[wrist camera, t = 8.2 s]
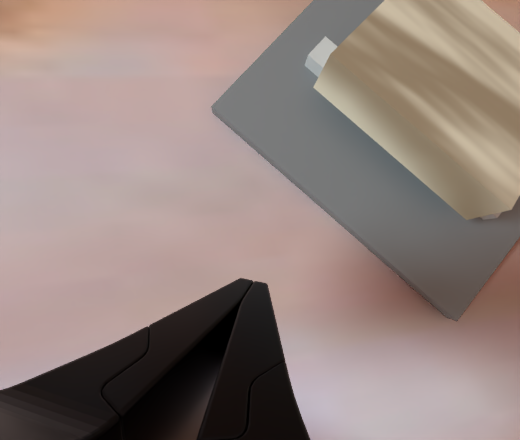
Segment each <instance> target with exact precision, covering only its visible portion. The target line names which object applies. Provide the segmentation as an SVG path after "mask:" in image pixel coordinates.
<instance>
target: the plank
mask: <svg viewBox="0 0 520 440" xmlns="http://www.w3.org/2000/svg"><path fill="white" fill-rule="evenodd" d="M313 88H314V89H316V90H317V91H318V92H319V93H320V94H321V95H322V96H324V97H325V98H326V99H327V100H328V101H329V102H331V103H332V104H333V105H334V106H335V107H336V108H337V109H339V110H340V111H341V112H342V113H343V114H344V115H346V116H347V117H348V118H349V119H350V120H351V121H353V122H354V123H355V124H356V125H357V126H358V127H359V128H361V129H362V130H363V131H364V132H365V133H366V134H368V135H369V136H370V137H371V138H372V139H373V140H374V141H376V142H377V143H378V144H379V145H380V146H381V147H383V148H384V149H385V150H386V151H387V152H388V153H389V154H391V155H392V156H393V157H394V158H395V159H396V160H398V161H399V162H400V163H401V164H402V165H403V166H405V167H406V168H407V169H408V170H409V171H410V172H411V173H413V174H414V175H415V176H416V177H417V178H418V179H420V180H421V181H422V182H423V183H424V184H425V185H426V186H428V187H429V188H430V189H431V190H432V191H433V192H435V193H436V194H437V195H438V196H439V197H440V198H441V199H443V200H444V201H445V202H446V203H447V204H448V205H450V206H451V207H452V208H453V209H454V210H455V211H457V212H458V213H459V214H460V215H461V216H462V217H463V218H465V219H466V220H469V219H473V218H478V217H482V216H487V215H491V214H495V213H500V212H504V211H508V210H512V208H513V206H514V204H515V203H516V201H517V199H518V197H519V196H520V33H519V32H518V31H517V30H516V29H515V28H513V27H512V26H511V25H510V24H509V23H507V22H506V21H505V20H504V19H503V18H502V17H500V16H499V15H498V14H497V13H496V12H494V11H493V10H492V9H491V8H490V7H489V6H487V5H486V4H485V3H484V2H483V1H481V0H384V1H383V2H382V3H381V4H380V5H379V6H378V7H377V8H376V9H375V10H374V11H373V12H372V13H371V14H370V15H369V16H368V17H367V18H366V19H365V20H364V21H363V22H362V23H361V24H360V25H359V26H358V27H357V28H356V29H355V30H354V31H353V32H352V33H351V34H350V35H349V36H348V37H347V38H346V39H345V40H344V41H343V42H342V43H341V44H340V45H339V46H338V47H337V48H336V49H335V50H334V51H333V52H332V53H331V54H330V56H329V58H328V60H327V62H326V63H325V65H324V67H323V69H322V71H321V73H320V75H319V77H318V79H317V81H316V83H315V85H314V87H313Z"/></svg>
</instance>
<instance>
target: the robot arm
mask: <svg viewBox="0 0 520 440" xmlns="http://www.w3.org/2000/svg"><path fill="white" fill-rule="evenodd" d="M0 440H310V438H309V435H308V432H307V430H306V427H305V425H304V422H303V419H302V417H301V414H300V411H299V408H298V405H297V402H296V399H295V397H294V393H293V389H292V386H291V382H290V378H289V374H288V370H287V366H286V363H285V358H284V354H283V349H282V345H281V341H280V336H279V332H278V328H277V323H276V319H275V315H274V310H273V306H272V302H271V297H270V293H269V289H268V285H267V284H266V283H262V282H258V281H255V282H253V281H252V280H248V279H243V278H240V279H238V280H236V281H234V282H232V283H230V284H228V285H226V286H224V287H222V288H220V289H218V290H217V291H215V292H213V293H211V294H209V295H207V296H205V297H203V298H201V299H199V300H197V301H195V302H193V303H191V304H190V305H188V306H186V307H184V308H182V309H180V310H178V311H176V312H174V313H172V314H170V315H168V316H166V317H164V318H162V319H161V320H159V321H157V322H155V323H153V324H151V325H150V326H149V327H145V328H143V329H141V330H139V331H137V332H135V333H133V334H131V335H129V336H127V337H125V338H123V339H121V340H119V341H117V342H115V343H113V344H111V345H108V346H106V347H104V348H102V349H99V350H97V351H95V352H93V353H90V354H88V355H86V356H83V357H81V358H79V359H76V360H74V361H72V362H69V363H67V364H65V365H62V366H60V367H58V368H55V369H53V370H51V371H48V372H46V373H44V374H41V375H39V376H36V377H34V378H32V379H29V380H27V381H25V382H22V383H20V384H17V385H15V386H12V387H9V388H6V389H3V390H0Z"/></svg>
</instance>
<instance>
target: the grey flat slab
mask: <svg viewBox="0 0 520 440" xmlns="http://www.w3.org/2000/svg"><path fill="white" fill-rule="evenodd" d="M383 1H384V0H313V1H312V2H311V3H310V5H309V6H308V7H307V8H306V9H305V10H304V11H303V12H302V13H301V14H300V15H299V16H298V17H297V18H296V19H295V20H294V21H293V22H292V23H291V24H290V25H289V26H288V27H287V28H286V29H285V31H284V32H283V33H282V34H281V35H280V36H279V37H278V38H277V39H276V40H275V41H274V42H273V43H272V44H271V45H270V46H269V47H268V48H267V49H266V50H265V51H264V52H263V53H262V54H261V55H260V57H259V58H258V59H257V60H256V61H255V62H254V63H253V64H252V65H251V66H250V67H249V68H248V69H247V70H246V71H245V72H244V73H243V74H242V75H241V76H240V77H239V78H238V79H237V80H236V81H235V83H234V84H233V85H232V86H231V87H230V88H229V89H228V90H227V91H226V92H225V93H224V94H223V95H222V96H221V97H220V98H219V99H218V100H217V101H216V102H215V103H214V104H213V105H212V106H211V107H212V111H213V114H215V115H216V116H217V117H218V118H219V119H220V120H222V121H223V122H224V123H225V124H226V125H227V126H228V127H230V128H231V129H232V130H233V131H234V132H235V133H236V134H238V135H239V136H240V137H241V138H242V139H243V140H244V141H246V142H247V143H248V144H249V145H250V146H251V147H252V148H254V149H255V150H256V151H257V152H258V153H259V154H260V155H262V156H263V157H264V158H265V159H266V160H267V161H268V162H270V163H271V164H272V165H273V166H274V167H275V168H276V169H278V170H279V171H280V172H281V173H282V174H283V175H284V176H286V177H287V178H288V179H289V180H290V181H291V182H292V183H294V184H295V185H296V186H297V187H298V188H299V189H300V190H302V191H303V192H304V193H305V194H306V195H307V196H308V197H310V198H311V199H312V200H313V201H314V202H315V203H316V204H318V205H319V206H320V207H321V208H322V209H323V210H324V211H326V212H327V213H328V214H329V215H330V216H331V217H332V218H334V219H335V220H336V221H337V222H338V223H339V224H340V225H342V226H343V227H344V228H345V229H346V230H347V231H348V232H350V233H351V234H352V235H353V236H354V237H355V238H357V239H358V240H359V241H360V242H361V243H362V244H363V245H365V246H366V247H367V248H368V249H369V250H370V251H371V252H373V253H374V254H375V255H376V256H377V257H378V258H379V259H381V260H382V261H383V262H384V263H385V264H386V265H387V266H389V267H390V268H391V269H392V270H393V271H394V272H395V273H397V274H398V275H399V276H400V277H401V278H402V279H403V280H405V281H406V282H407V283H408V284H409V285H410V286H411V287H413V288H414V289H415V290H416V291H417V292H418V293H419V294H421V295H422V296H423V297H424V298H425V299H426V300H427V301H429V302H430V303H431V304H432V305H433V306H434V307H435V308H437V309H438V310H439V311H440V312H441V313H442V314H443V315H445V316H446V317H447V318H449V319H452V320H455V321H458V319H459V318H460V317H461V315H462V314H463V312H464V311H465V310H466V308H467V307H468V306H469V304H470V303H471V302H472V300H473V299H474V298H475V296H476V295H477V294H478V292H479V291H480V290H481V288H482V287H483V286H484V284H485V283H486V282H487V280H488V279H489V278H490V276H491V275H492V274H493V272H494V271H495V270H496V268H497V267H498V265H499V264H500V263H501V261H502V260H503V259H504V257H505V256H506V255H507V253H508V252H509V251H510V249H511V248H512V247H513V245H514V244H515V243H516V241H517V240H518V239H519V237H520V196H519V197H518V199H517V201H516V203H515V204H514V206H513V208H512V210H508V211H504V212H500V213H495V214H491V215H487V216H482V217H478V218H473V219H469V220H466V219H465V218H463V217H462V216H461V215H460V214H459V213H458V212H457V211H455V210H454V209H453V208H452V207H451V206H450V205H448V204H447V203H446V202H445V201H444V200H443V199H441V198H440V197H439V196H438V195H437V194H436V193H435V192H433V191H432V190H431V189H430V188H429V187H428V186H426V185H425V184H424V183H423V182H422V181H421V180H420V179H418V178H417V177H416V176H415V175H414V174H413V173H411V172H410V171H409V170H408V169H407V168H406V167H405V166H403V165H402V164H401V163H400V162H399V161H398V160H396V159H395V158H394V157H393V156H392V155H391V154H389V153H388V152H387V151H386V150H385V149H384V148H383V147H381V146H380V145H379V144H378V143H377V142H376V141H374V140H373V139H372V138H371V137H370V136H369V135H368V134H366V133H365V132H364V131H363V130H362V129H361V128H359V127H358V126H357V125H356V124H355V123H354V122H353V121H351V120H350V119H349V118H348V117H347V116H346V115H344V114H343V113H342V112H341V111H340V110H339V109H337V108H336V107H335V106H334V105H333V104H332V103H331V102H329V101H328V100H327V99H326V98H325V97H324V96H322V95H321V94H320V93H319V92H318V91H317V90H316V89H314V88H313V87H314V85H315V83H316V81H317V79H318V77H319V75H320V73H321V71H322V69H323V67H324V65H325V63H326V62H327V60H328V58H329V56H330V54H331V53H332V52H333V51H334V50H335V49H336V48H337V47H338V46H339V45H340V44H341V43H342V42H343V41H344V40H345V39H346V38H347V37H348V36H349V35H350V34H351V33H352V32H353V31H354V30H355V29H356V28H357V27H358V26H359V25H360V24H361V23H362V22H363V21H364V20H365V19H366V18H367V17H368V16H369V15H370V14H371V13H372V12H373V11H374V10H375V9H376V8H377V7H378V6H379V5H380V4H381V3H382V2H383Z"/></svg>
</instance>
